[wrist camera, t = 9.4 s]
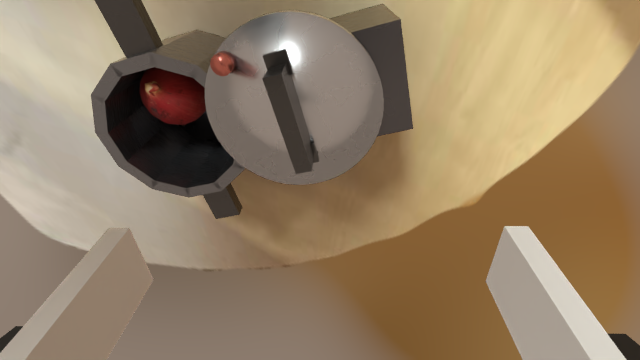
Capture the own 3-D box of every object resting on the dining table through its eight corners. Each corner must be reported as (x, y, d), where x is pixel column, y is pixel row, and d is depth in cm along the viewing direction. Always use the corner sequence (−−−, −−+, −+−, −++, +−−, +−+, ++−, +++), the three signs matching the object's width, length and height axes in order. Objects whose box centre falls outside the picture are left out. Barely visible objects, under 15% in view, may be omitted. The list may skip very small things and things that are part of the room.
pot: (101, 5, 31) (18, 20, 23) (223, -35, 28) (180, -34, 20) (199, 184, 41) (167, 237, 33) (293, 164, 39) (283, 216, 31)
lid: (176, 39, 22) (149, 52, 19) (365, -16, 20) (371, -11, 17) (246, 191, 29) (235, 219, 26) (393, 162, 27) (401, 189, 24)
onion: (208, 133, 35) (164, 139, 27) (161, 106, 35) (103, 104, 27) (231, 83, 33) (192, 73, 25) (182, 55, 33) (128, 37, 26)
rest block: (308, 24, 31) (298, 46, 23) (382, 3, 30) (400, 19, 21) (328, 104, 35) (326, 146, 27) (394, 88, 34) (413, 128, 26)
